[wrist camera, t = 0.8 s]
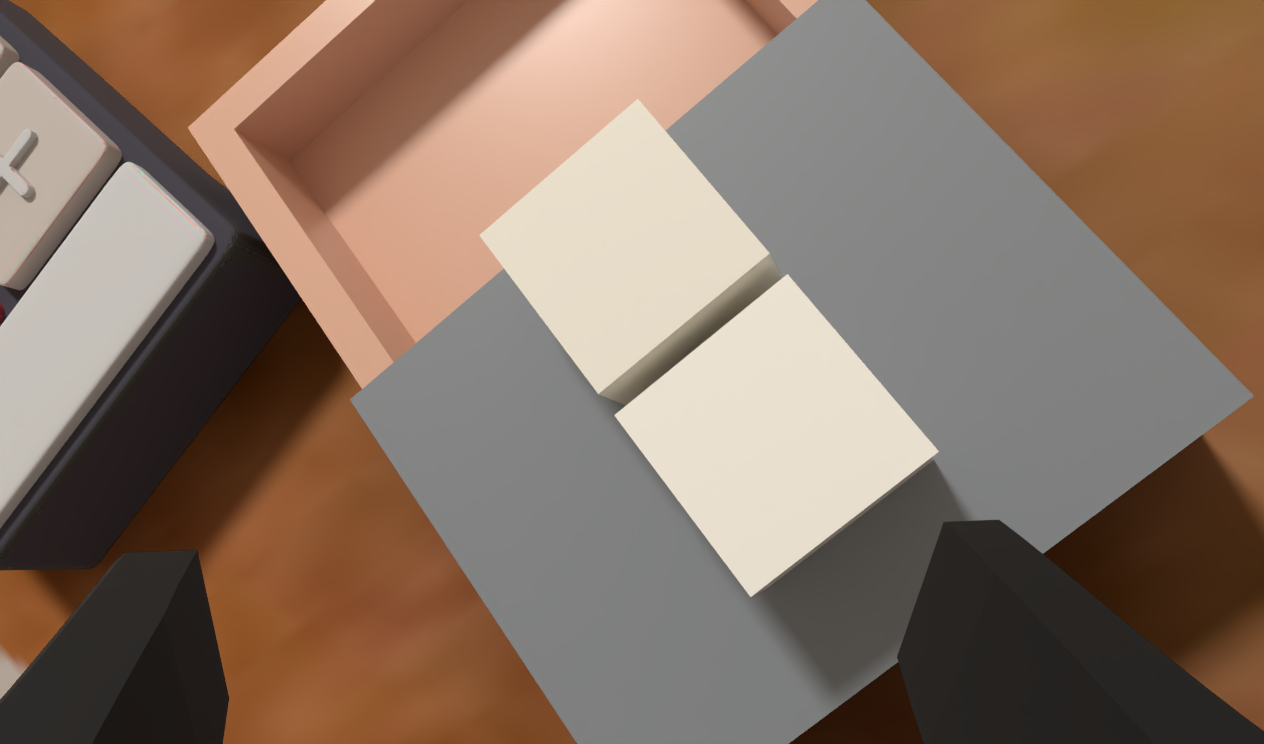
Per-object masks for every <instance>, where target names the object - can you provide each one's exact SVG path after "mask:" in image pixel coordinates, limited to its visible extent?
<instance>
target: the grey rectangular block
mask: <svg viewBox="0 0 1264 744" xmlns="http://www.w3.org/2000/svg"><path fill="white" fill-rule="evenodd" d="M666 132H667V133H668V135H669V136H670V137H671V138H672V139H673V140H674V142H675V143H676V144H677V145H678V146H679V147H680V149H681V150H682V151H683V152H684V153H685V155H686V156H687V157H688V158H689V159H690V160H691V162H692V163H693V164H694V165H695V166H696V167H697V169H698V170H699V171H700V172H701V173H702V174H703V176H704V177H705V178H706V179H707V180H708V181H709V183H710V184H711V185H712V186H713V187H714V188H715V190H716V191H717V192H718V193H719V194H720V196H721V197H722V198H723V199H724V200H725V201H726V203H727V204H728V205H729V206H730V207H731V208H732V210H733V211H734V212H735V213H736V214H737V215H738V217H739V218H740V219H741V220H742V221H743V222H744V224H745V225H746V226H747V227H748V228H749V230H750V231H751V232H752V233H753V234H754V235H755V237H756V238H757V239H758V240H759V241H760V242H761V244H762V245H763V246H764V247H765V248H766V249H767V251H768V252H769V253H770V255H771V257H772V259H773V261H774V263H775V265H776V267H777V269H778V271H779V273H780V275H781V277H782V278H783V277H784V276H786V275H787V274H788V275H789V276H790V278H791V279H792V280H793V281H794V282H795V283H796V285H797V286H798V287H799V288H800V289H801V290H802V292H803V293H804V294H805V295H806V296H807V297H808V299H809V300H810V301H811V302H812V303H813V305H814V306H815V307H816V308H817V309H818V310H819V312H820V313H821V314H822V315H823V316H824V317H825V319H826V320H827V321H828V322H829V323H830V324H831V326H832V327H833V328H834V329H835V330H836V331H837V333H838V334H839V335H840V336H841V337H842V338H843V340H844V341H845V342H846V343H847V344H848V346H849V347H850V348H851V349H852V350H853V351H854V353H855V354H856V355H857V356H858V357H859V358H860V360H861V361H862V362H863V363H864V364H865V365H866V367H867V368H868V369H869V370H870V371H871V372H872V374H873V375H874V376H875V377H876V378H877V380H878V381H879V382H880V383H881V384H882V385H883V387H884V388H885V389H886V390H887V391H888V392H889V394H890V395H891V396H892V397H893V398H894V399H895V401H896V402H897V403H898V404H899V405H900V406H901V408H902V409H903V410H904V411H905V412H906V413H907V415H908V416H909V417H910V418H911V419H912V421H913V422H914V423H915V424H916V425H917V426H918V428H919V429H920V430H921V431H922V432H923V433H924V435H925V436H926V437H927V438H928V439H929V440H930V442H931V443H932V444H933V445H934V446H935V447H936V449H937V450H938V451H939V452H938V454H937V455H936V457H935V459H934V460H933V461H932V462H930V463H929V464H928V465H926V466H925V467H924V468H922V469H921V470H920V471H919V472H917V473H916V474H915V475H913V476H912V477H911V478H910V479H908V480H907V481H906V482H904V483H903V484H902V485H900V486H899V487H898V488H897V489H895V490H894V491H893V492H891V493H890V494H889V495H888V496H886V497H885V498H884V499H882V500H881V501H880V502H878V503H877V504H876V505H875V506H873V507H872V508H871V509H869V510H868V511H867V512H866V513H864V514H863V515H862V516H860V517H859V518H858V519H856V520H855V521H854V522H853V523H851V524H850V525H849V526H847V527H846V528H845V529H843V530H842V531H841V532H840V533H838V534H837V535H836V536H834V537H833V538H832V539H831V540H829V541H828V542H827V543H825V544H824V545H823V546H821V547H820V548H819V549H818V550H816V551H815V552H814V553H812V554H811V555H810V556H809V557H807V558H806V559H805V560H803V561H802V562H801V563H799V564H798V565H797V566H796V567H794V568H793V569H792V570H790V571H789V572H788V573H787V574H785V575H784V576H783V577H781V578H780V579H779V580H777V581H776V582H775V583H774V584H772V585H771V586H770V587H768V588H766V589H765V590H763V591H761V592H759V593H757V594H755V595H754V596H752V597H750V596H749V594H748V593H747V592H746V590H745V589H744V588H743V586H742V585H741V584H740V582H739V581H738V580H737V578H736V577H735V576H734V574H733V573H732V572H731V570H730V569H729V568H728V566H727V565H726V564H725V562H724V561H723V560H722V558H721V557H720V556H719V554H718V553H717V552H716V550H715V549H714V548H713V546H712V545H711V544H710V542H709V541H708V540H707V538H706V537H705V536H704V534H703V533H702V532H701V530H700V529H699V528H698V526H697V525H696V524H695V522H694V521H693V520H692V518H691V517H690V516H689V514H688V513H687V512H686V510H685V509H684V508H683V506H682V505H681V504H680V502H679V501H678V500H677V498H676V497H675V496H674V494H673V493H672V492H671V490H670V489H669V488H668V486H667V485H666V484H665V482H664V481H663V480H662V478H661V477H660V476H659V474H658V473H657V472H656V470H655V469H654V468H653V466H652V465H651V464H650V462H649V461H648V460H647V458H646V457H645V456H644V454H643V453H642V452H641V450H640V449H639V448H638V446H637V445H636V444H635V442H634V441H633V440H632V438H631V437H630V436H629V434H628V433H627V432H626V430H625V429H624V428H623V426H622V425H621V424H620V422H619V421H618V420H617V418H616V417H615V416H614V415H615V414H616V413H618V412H619V411H620V410H621V409H623V408H624V407H625V406H626V405H624V404H621V403H619V402H616V401H614V400H612V399H609V398H607V397H604V396H602V395H599V394H598V393H597V392H596V390H595V389H594V388H593V386H592V385H591V384H590V382H589V381H588V380H587V378H586V377H585V376H584V374H583V373H582V372H581V370H580V369H579V368H578V366H577V365H576V364H575V362H574V361H573V360H572V358H571V357H570V356H569V354H568V353H567V352H566V350H565V349H564V348H563V346H562V345H561V344H560V342H559V341H558V340H557V338H556V337H555V336H554V334H553V333H552V332H551V330H550V329H549V328H548V326H547V325H546V324H545V322H544V321H543V320H542V318H541V317H540V316H539V314H538V313H537V312H536V310H535V309H534V308H533V306H532V305H531V304H530V302H529V301H528V300H527V298H526V297H525V296H524V294H523V293H522V292H521V290H520V289H519V288H518V286H517V285H516V284H515V282H514V281H513V280H512V278H511V277H510V276H509V274H508V273H507V272H506V270H505V269H502V270H501V271H500V272H499V273H498V274H497V275H495V276H494V277H493V278H492V279H491V280H490V281H488V282H487V283H486V284H485V285H484V286H483V287H481V288H480V289H479V290H478V291H477V292H476V293H474V294H473V295H472V296H471V297H470V298H468V299H467V300H466V301H465V302H464V303H463V304H461V305H460V306H459V307H458V308H457V309H456V310H454V311H453V312H452V313H451V314H450V315H449V316H447V317H446V318H445V319H444V320H443V321H442V322H440V323H439V324H438V325H437V326H436V327H434V328H433V329H432V330H431V331H430V332H429V333H427V334H426V335H425V336H424V337H423V338H422V339H420V340H419V341H418V342H417V343H416V344H415V345H413V346H412V347H411V348H410V349H409V350H407V351H406V352H405V353H404V354H403V355H402V356H400V357H399V358H398V359H397V360H396V361H395V362H393V363H392V364H391V365H390V366H389V367H388V368H386V369H385V370H384V371H383V372H382V373H381V374H379V375H378V376H377V377H376V378H375V379H373V380H372V381H371V382H370V383H369V384H368V385H366V386H365V387H364V388H363V389H362V390H361V391H359V392H358V393H357V394H356V395H355V396H354V397H352V398H351V399H350V401H351V402H352V404H353V405H354V407H355V408H356V410H357V411H358V413H359V414H360V416H361V417H362V419H363V420H364V422H365V423H366V425H367V426H368V428H369V429H370V431H371V432H372V434H373V435H374V437H375V438H376V440H377V441H378V443H379V444H380V446H381V447H382V449H383V450H384V452H385V454H386V455H387V457H388V458H389V460H390V461H391V463H392V464H393V466H394V467H395V469H396V470H397V472H398V473H399V475H400V476H401V478H402V479H403V481H404V482H405V484H406V485H407V487H408V488H409V490H410V491H411V493H412V494H413V496H414V497H415V499H416V500H417V502H418V503H419V505H420V506H421V508H422V509H423V511H424V513H425V514H426V516H427V517H428V519H429V520H430V522H431V523H432V525H433V526H434V528H435V529H436V531H437V532H438V534H439V535H440V537H441V538H442V540H443V541H444V543H445V544H446V546H447V547H448V549H449V550H450V552H451V553H452V555H453V556H454V558H455V559H456V561H457V562H458V564H459V565H460V567H461V569H462V570H463V572H464V573H465V575H466V576H467V578H468V579H469V581H470V582H471V584H472V585H473V587H474V588H475V590H476V591H477V593H478V594H479V596H480V597H481V599H482V600H483V602H484V603H485V605H486V606H487V608H488V609H489V611H490V612H491V614H492V615H493V617H494V618H495V620H496V621H497V623H498V625H499V626H500V628H501V629H502V631H503V632H504V634H505V635H506V637H507V638H508V640H509V641H510V643H511V644H512V646H513V647H514V649H515V650H516V652H517V653H518V655H519V656H520V658H521V659H522V661H523V662H524V664H525V665H526V667H527V668H528V670H529V671H530V673H531V674H532V676H533V677H534V679H535V680H536V682H537V684H538V685H539V687H540V688H541V690H542V691H543V693H544V694H545V696H546V697H547V699H548V700H549V702H550V703H551V705H552V706H553V708H554V709H555V711H556V712H557V714H558V715H559V717H560V718H561V720H562V721H563V723H564V724H565V726H566V727H567V729H568V730H569V732H570V733H571V735H572V736H573V738H574V740H575V741H576V743H577V744H789V743H790V742H792V741H793V740H794V739H796V738H797V737H798V736H800V735H801V734H802V733H804V732H805V731H806V730H808V729H809V728H810V727H812V726H813V725H814V724H816V723H817V722H818V721H820V720H821V719H822V718H824V717H825V716H826V715H828V714H829V713H830V712H832V711H833V710H834V709H836V708H837V707H838V706H840V705H841V704H842V703H844V702H845V701H846V700H848V699H849V698H850V697H852V696H853V695H855V694H856V693H857V692H859V691H860V690H861V689H863V688H864V687H865V686H867V685H868V684H869V683H871V682H872V681H873V680H875V679H876V678H877V677H879V676H880V675H881V674H883V673H884V672H885V671H887V670H888V669H889V668H891V667H892V666H893V665H895V664H896V663H897V662H898V659H897V655H898V652H899V649H900V646H901V644H902V641H903V638H904V635H905V632H906V629H907V626H908V623H909V621H910V618H911V615H912V612H913V609H914V606H915V603H916V600H917V597H918V595H919V592H920V589H921V586H922V583H923V580H924V577H925V574H926V572H927V569H928V566H929V563H930V560H931V557H932V554H933V551H934V548H935V546H936V543H937V540H938V537H939V534H940V531H941V528H942V525H943V523H944V522H950V521H976V520H1000V521H1002V522H1003V523H1004V524H1006V525H1007V526H1008V527H1009V528H1011V529H1012V530H1013V531H1015V532H1016V533H1017V534H1019V535H1020V536H1021V537H1022V538H1024V539H1025V540H1026V541H1027V542H1029V543H1030V544H1031V545H1032V546H1034V547H1035V548H1036V549H1037V550H1039V551H1040V552H1041V553H1042V554H1043V553H1045V552H1046V551H1047V550H1049V549H1050V548H1051V547H1053V546H1054V545H1055V544H1057V543H1058V542H1059V541H1061V540H1062V539H1063V538H1065V537H1066V536H1067V535H1069V534H1070V533H1071V532H1073V531H1074V530H1075V529H1077V528H1078V527H1079V526H1081V525H1082V524H1083V523H1085V522H1086V521H1087V520H1089V519H1090V518H1091V517H1093V516H1094V515H1096V514H1097V513H1098V512H1100V511H1101V510H1102V509H1104V508H1105V507H1106V506H1108V505H1109V504H1110V503H1112V502H1113V501H1114V500H1116V499H1117V498H1118V497H1120V496H1121V495H1122V494H1124V493H1125V492H1126V491H1128V490H1129V489H1130V488H1132V487H1133V486H1134V485H1136V484H1137V483H1138V482H1140V481H1141V480H1142V479H1144V478H1145V477H1146V476H1148V475H1149V474H1150V473H1152V472H1153V471H1154V470H1156V469H1157V468H1158V467H1160V466H1161V465H1162V464H1164V463H1165V462H1166V461H1168V460H1169V459H1170V458H1172V457H1173V456H1175V455H1176V454H1177V453H1179V452H1180V451H1181V450H1183V449H1184V448H1185V447H1187V446H1188V445H1189V444H1191V443H1192V442H1193V441H1195V440H1196V439H1197V438H1199V437H1200V436H1201V435H1203V434H1204V433H1205V432H1207V431H1208V430H1209V429H1211V428H1212V427H1213V426H1215V425H1216V424H1217V423H1219V422H1220V421H1221V420H1223V419H1224V418H1225V417H1227V416H1228V415H1229V414H1231V413H1232V412H1233V411H1235V410H1236V409H1237V408H1239V407H1240V406H1241V405H1243V404H1244V403H1245V402H1247V401H1248V400H1249V399H1251V398H1252V397H1254V396H1253V395H1252V394H1251V393H1250V392H1249V391H1248V390H1247V388H1246V387H1245V386H1244V385H1243V384H1242V383H1241V382H1240V381H1239V380H1238V379H1237V378H1236V377H1235V376H1234V375H1233V374H1232V373H1231V372H1230V371H1229V370H1228V369H1227V368H1226V367H1225V366H1224V365H1223V364H1222V363H1221V362H1220V361H1219V360H1218V359H1217V358H1216V357H1215V356H1214V355H1213V354H1212V353H1211V352H1210V351H1209V350H1208V349H1207V348H1206V347H1205V346H1204V345H1203V344H1202V343H1201V342H1200V341H1199V340H1198V339H1197V338H1196V337H1195V336H1194V334H1193V333H1192V332H1191V331H1190V330H1189V329H1188V328H1187V327H1186V326H1185V325H1184V324H1183V323H1182V322H1181V321H1180V320H1179V319H1178V318H1177V317H1176V316H1175V315H1174V314H1173V313H1172V312H1171V311H1170V310H1169V309H1168V308H1167V307H1166V306H1165V305H1164V304H1163V303H1162V302H1161V301H1160V300H1159V299H1158V298H1157V297H1156V296H1155V295H1154V294H1153V293H1152V292H1151V291H1150V290H1149V289H1148V288H1147V287H1146V286H1145V285H1144V284H1143V283H1142V282H1141V280H1140V279H1139V278H1138V277H1137V276H1136V275H1135V274H1134V273H1133V272H1132V271H1131V270H1130V269H1129V268H1128V267H1127V266H1126V265H1125V264H1124V263H1123V262H1122V261H1121V260H1120V259H1119V258H1118V257H1117V256H1116V255H1115V254H1114V253H1113V252H1112V251H1111V250H1110V249H1109V248H1108V247H1107V246H1106V245H1105V244H1104V243H1103V242H1102V241H1101V240H1100V239H1099V238H1098V237H1097V236H1096V235H1095V234H1094V233H1093V232H1092V231H1091V230H1090V229H1089V228H1088V226H1087V225H1086V224H1085V223H1084V222H1083V221H1082V220H1081V219H1080V218H1079V217H1078V216H1077V215H1076V214H1075V213H1074V212H1073V211H1072V210H1071V209H1070V208H1069V207H1068V206H1067V205H1066V204H1065V203H1064V202H1063V201H1062V200H1061V199H1060V198H1059V197H1058V196H1057V195H1056V194H1055V193H1054V192H1053V191H1052V190H1051V189H1050V188H1049V187H1048V186H1047V185H1046V184H1045V183H1044V182H1043V181H1042V180H1041V179H1040V178H1039V177H1038V176H1037V175H1036V174H1035V173H1034V171H1033V170H1032V169H1031V168H1030V167H1029V166H1028V165H1027V164H1026V163H1025V162H1024V161H1023V160H1022V159H1021V158H1020V157H1019V156H1018V155H1017V154H1016V153H1015V152H1014V151H1013V150H1012V149H1011V148H1010V147H1009V146H1008V145H1007V144H1006V143H1005V142H1004V141H1003V140H1002V139H1001V138H1000V137H999V136H998V135H997V134H996V133H995V132H994V131H993V130H992V129H991V128H990V127H989V126H988V125H987V124H986V123H985V122H984V121H983V120H982V119H981V117H980V116H979V115H978V114H977V113H976V112H975V111H974V110H973V109H972V108H971V107H970V106H969V105H968V104H967V103H966V102H965V101H964V100H963V99H962V98H961V97H960V96H959V95H958V94H957V93H956V92H955V91H954V90H953V89H952V88H951V87H950V86H949V85H948V84H947V83H946V82H945V81H944V80H943V79H942V78H941V77H940V76H939V75H938V74H937V73H936V72H935V71H934V70H933V69H932V68H931V67H930V66H929V65H928V63H927V62H926V61H925V60H924V59H923V58H922V57H921V56H920V55H919V54H918V53H917V52H916V51H915V50H914V49H913V48H912V47H911V46H910V45H909V44H908V43H907V42H906V41H905V40H904V39H903V38H902V37H901V36H900V35H899V34H898V33H897V32H896V31H895V30H894V29H893V28H892V27H891V26H890V25H889V24H888V23H887V22H886V21H885V20H884V19H883V18H882V17H881V16H880V15H879V14H878V13H877V12H876V11H875V9H874V8H873V7H872V6H871V5H870V4H869V3H868V2H867V1H866V0H818V1H817V2H816V3H814V4H813V5H812V6H811V7H810V8H809V9H807V10H806V11H805V12H804V13H803V14H802V15H800V16H799V17H798V18H797V19H796V20H795V21H793V22H792V23H791V24H790V25H789V26H787V27H786V28H785V29H784V30H783V31H782V32H780V33H779V34H778V35H777V36H776V37H775V38H773V39H772V40H771V41H770V42H769V43H768V44H766V45H765V46H764V47H763V48H762V49H761V50H759V51H758V52H757V53H756V54H755V55H753V56H752V57H751V58H750V59H749V60H748V61H746V62H745V63H744V64H743V65H742V66H741V67H739V68H738V69H737V70H736V71H735V72H734V73H732V74H731V75H730V76H729V77H728V78H726V79H725V80H724V81H723V82H722V83H721V84H719V85H718V86H717V87H716V88H715V89H714V90H712V91H711V92H710V93H709V94H708V95H707V96H705V97H704V98H703V99H702V100H701V101H700V102H698V103H697V104H696V105H695V106H694V107H692V108H691V109H690V110H689V111H688V112H687V113H685V114H684V115H683V116H682V117H681V118H680V119H678V120H677V121H676V122H675V123H674V124H673V125H671V126H670V127H669V128H668V129H667V130H666Z"/></svg>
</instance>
